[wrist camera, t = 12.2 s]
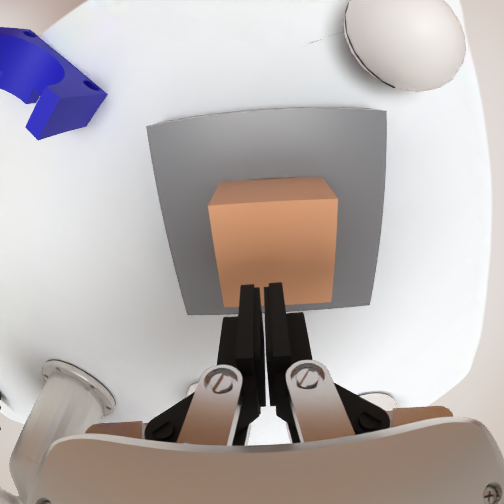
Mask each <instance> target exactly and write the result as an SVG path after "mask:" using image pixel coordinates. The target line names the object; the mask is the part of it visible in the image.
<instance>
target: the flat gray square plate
mask: <svg viewBox="0 0 504 504" xmlns="http://www.w3.org/2000/svg"><path fill="white" fill-rule="evenodd" d="M146 127H147V134H148V140H149V146H150V152H151V158H152V164H153V170H154V175H155V180H156V186H157V191H158V196H159V201H160V206H161V210H162V215H163V220H164V224H165V229H166V233H167V237H168V242H169V246H170V250H171V254H172V258H173V262H174V266H175V270H176V274H177V278H178V282H179V286H180V289H181V293H182V297H183V300H184V304H185V308H186V311H187V315H220V314H238V313H239V307H224V303H223V298H222V292H221V286H220V280H219V274H218V268H217V262H216V256H215V249H214V243H213V237H212V230H211V224H210V217H209V210H208V205H209V203H210V201H211V199H212V197H213V195H214V193H215V191H216V189H217V187H218V185H219V183H220V182H229V181H242V180H254V179H267V178H285V177H289V178H296V177H323V178H324V180H325V181H326V183H327V184H328V185H329V187H330V188H331V190H332V191H333V193H334V194H335V195H336V197H337V198H338V212H337V234H336V251H335V265H334V278H333V289H332V300H331V302H325V303H310V304H294V305H285V309H286V312H291V311H306V310H320V309H332V308H344V307H355V306H365V305H370V300H371V295H372V289H373V283H374V277H375V271H376V264H377V257H378V250H379V242H380V234H381V224H382V214H383V203H384V190H385V172H386V139H387V119H386V111H383V110H376V109H367V108H343V107H299V108H274V109H259V110H246V111H236V112H226V113H218V114H210V115H202V116H195V117H189V118H183V119H177V120H171V121H165V122H161V123H157V124H153V125H150V126H146ZM261 309H262V313H265V308H264V306H261Z"/></svg>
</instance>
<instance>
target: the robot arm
mask: <svg viewBox="0 0 504 504" xmlns="http://www.w3.org/2000/svg"><path fill="white" fill-rule="evenodd" d="M264 308H265V336H266V360H267V372H268V384H269V397H270V406H276V415H277V416H278V417H280V418H281V419H283V420H284V421H286V427H287V431H288V435H289V438H290V442H291V444H277V445H255V446H247V445H248V440H249V435H250V430H251V422H253V421H254V420H255V419H256V418H257V417H259V414H261V411H260V407H264V406H266V392H265V354H264V332H263V321H262V309H261V298H260V287H254V284H247V285H241V287H240V299H239V313H238V317H224V318H223V322H222V330H221V337H220V345H219V352H218V360H217V365H216V366H213V367H211V368H209V369H207V370H206V371H205V372H204V373H203V374H202V376H201V377H200V380H199V382H198V385H197V388H196V391H195V392H193V393H192V394H190V395H189V396H188V397H186V398H185V399H183V400H182V401H180V402H178V403H177V404H175V405H174V406H172V407H171V408H169V409H168V410H166V411H165V412H163V413H161V414H160V415H158V416H157V417H155V418H154V419H152V420H151V421H150V422H149V423H143V422H142V421H136V422H121V423H101V420H102V417H103V415H108V414H111V413H112V412H113V410H114V407H115V401H114V399H113V397H112V396H111V394H110V393H109V392H108V390H107V389H106V388H105V387H104V386H103V385H101V384H100V383H99V382H98V381H97V380H95V379H94V378H93V377H91V376H90V375H88V374H87V373H85V372H84V371H82V370H80V369H78V368H76V367H74V366H72V365H70V364H67V363H64V362H61V361H53V360H52V361H48V362H46V363H45V365H44V367H43V369H42V374H43V377H44V379H45V381H46V384H45V386H44V387H43V389H42V391H41V393H40V395H39V397H38V399H37V401H36V403H35V405H34V407H33V409H32V411H31V413H30V415H29V417H28V419H27V421H26V423H25V425H24V427H23V430H22V432H21V434H20V436H19V439H18V441H17V443H16V445H15V448H14V450H13V452H12V455H11V458H10V463H9V464H10V472H11V476H12V478H13V481H14V483H15V486H16V488H17V490H18V493H19V496H14V495H12V494H11V493H8V492H6V491H5V490H3V489H2V488H0V504H504V458H503V456H502V454H501V451H500V449H499V447H498V445H497V443H496V441H495V439H494V438H493V436H492V434H491V433H490V431H489V430H488V429H487V428H486V427H485V425H483V424H482V423H481V422H479V421H477V420H474V419H470V418H465V417H453V414H452V412H451V411H450V410H449V409H447V408H445V407H443V406H430V407H413V408H393V409H392V411H385V410H384V409H382V408H381V407H379V406H377V405H375V404H373V403H371V402H369V401H367V400H365V399H363V398H362V397H360V396H358V395H356V394H354V393H352V392H350V391H348V390H347V389H345V388H343V387H341V386H339V385H337V384H336V383H334V382H333V380H332V378H331V375H330V373H329V371H328V369H327V368H326V366H324V365H323V364H322V363H320V362H317V361H315V360H312V355H311V349H310V344H309V339H308V334H307V328H306V323H305V318H304V314H303V312H299V313H286V309H285V301H284V294H283V286H282V282H276V283H269V287H264Z"/></svg>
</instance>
